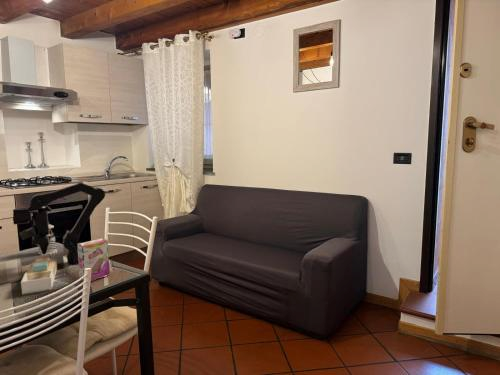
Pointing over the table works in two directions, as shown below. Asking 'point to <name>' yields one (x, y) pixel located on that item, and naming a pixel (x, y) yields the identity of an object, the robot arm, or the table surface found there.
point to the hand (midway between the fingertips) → (44, 253)
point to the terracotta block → (43, 260)
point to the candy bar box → (94, 257)
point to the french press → (52, 243)
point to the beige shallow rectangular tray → (42, 274)
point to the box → (37, 284)
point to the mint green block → (40, 266)
